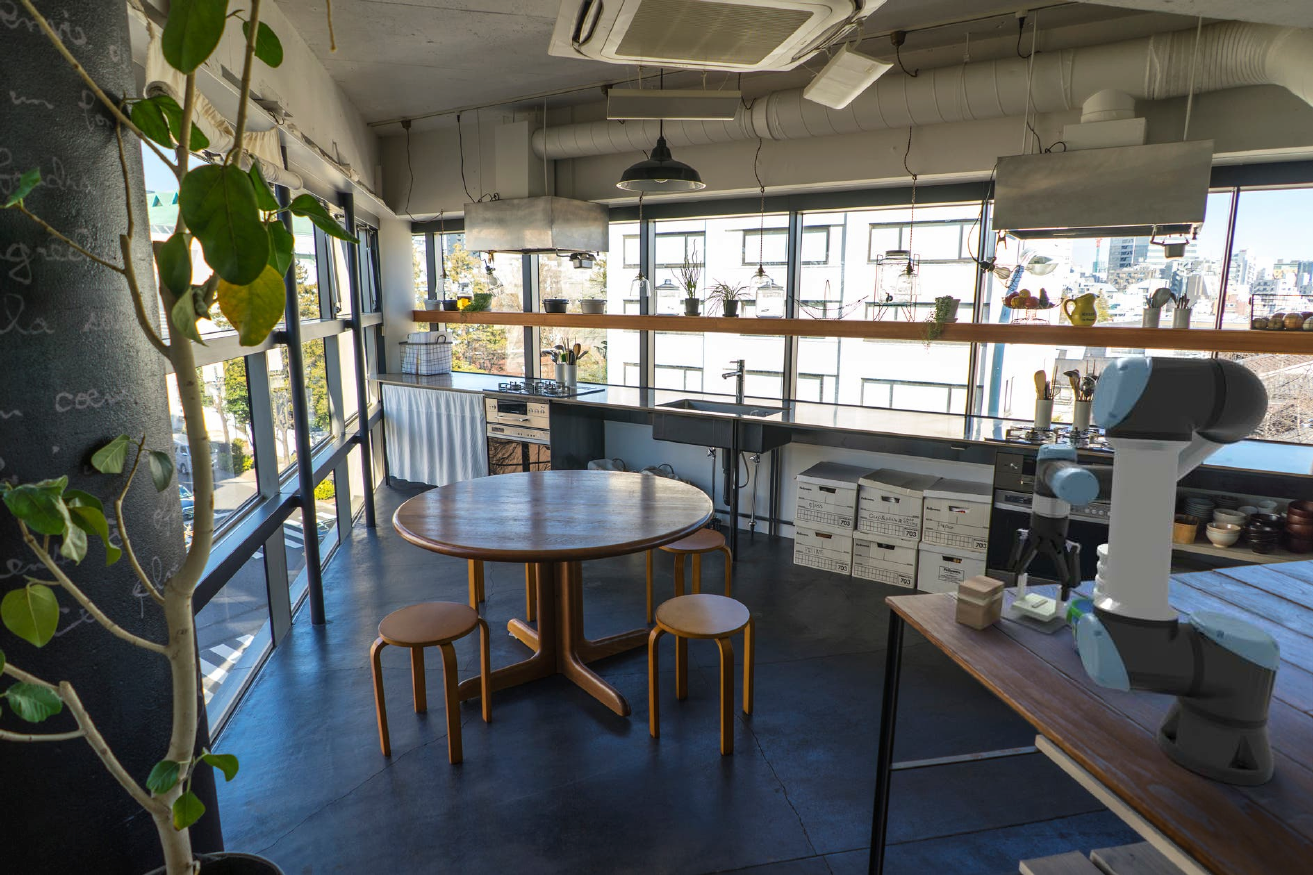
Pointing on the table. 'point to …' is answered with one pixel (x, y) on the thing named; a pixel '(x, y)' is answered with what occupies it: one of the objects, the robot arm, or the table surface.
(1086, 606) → the snack cup
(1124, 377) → the robot arm
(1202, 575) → the table surface
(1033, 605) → the lid
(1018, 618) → the mat
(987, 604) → the walnut box
